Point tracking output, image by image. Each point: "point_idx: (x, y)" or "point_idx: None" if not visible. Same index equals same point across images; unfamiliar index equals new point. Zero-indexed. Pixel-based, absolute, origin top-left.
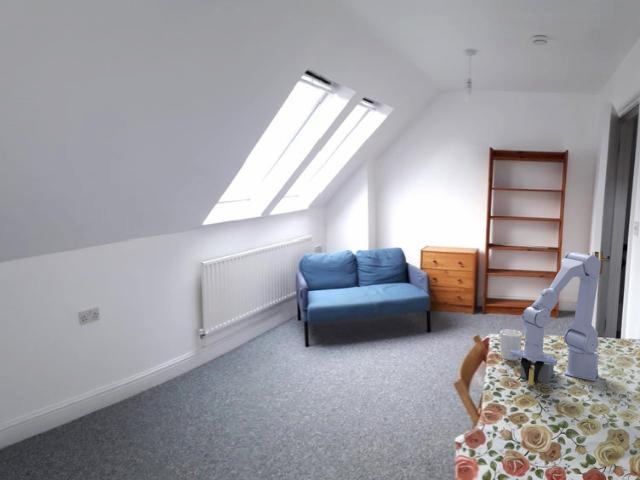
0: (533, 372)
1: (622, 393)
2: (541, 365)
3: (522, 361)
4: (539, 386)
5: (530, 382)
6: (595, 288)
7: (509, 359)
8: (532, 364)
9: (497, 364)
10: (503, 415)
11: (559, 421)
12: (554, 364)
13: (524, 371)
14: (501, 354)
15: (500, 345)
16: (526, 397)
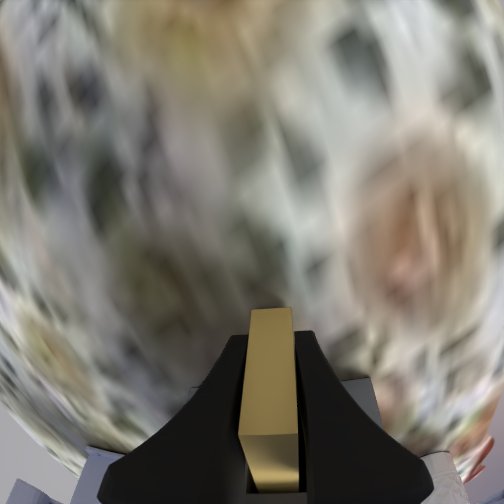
0: (244, 410)
1: (4, 395)
2: (99, 495)
3: (408, 499)
4: (211, 328)
5: (273, 322)
6: None
7: (422, 459)
8: (296, 489)
9: (476, 407)
10: None
11: None
12: (21, 492)
13: None
14: (452, 462)
15: (465, 491)
16: (216, 46)
